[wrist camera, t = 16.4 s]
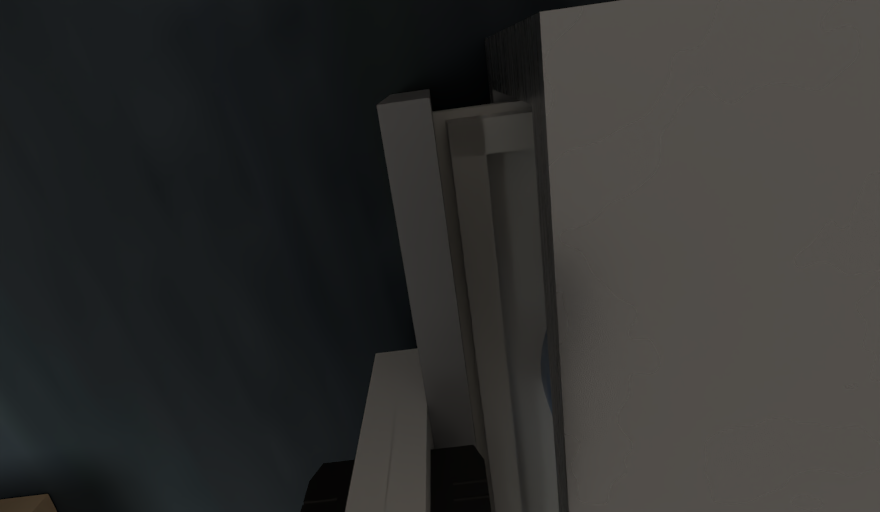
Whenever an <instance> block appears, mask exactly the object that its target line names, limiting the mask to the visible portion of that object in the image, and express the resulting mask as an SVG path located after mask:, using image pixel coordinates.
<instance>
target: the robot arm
mask: <svg viewBox="0 0 880 512" xmlns="http://www.w3.org/2000/svg"><path fill="white" fill-rule="evenodd" d="M301 512H491V504H490V497H489V490H488V482H487V475H486V467H485V460H484V458H483V457H482V456H481V454H480V453H479V452H478V450H477V449H476V448H475V446H474V445H466V446H457V447H448V448H440V449H434V443H433V437H432V431H431V425H430V419H429V413H428V407H427V401H426V396H425V390H424V384H423V378H422V372H421V366H420V360H419V354H418V348H417V349H408V350H400V351H392V352H384V353H376V354H375V359H374V365H373V370H372V375H371V380H370V385H369V390H368V396H367V401H366V406H365V411H364V416H363V421H362V427H361V432H360V437H359V442H358V447H357V452H356V457H355V460H349V461H341V462H332V463H323V465H322V466H321V467H320V468H319V470H318V471H317V472H316V474H315V475H314V476H313V478H312V479H311V480H310V481H309V485H308V488H307V492H306V495H305V499H304V505H302V509H301Z"/></svg>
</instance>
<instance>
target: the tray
mask: <svg viewBox="0 0 880 512" xmlns="http://www.w3.org/2000/svg"><path fill="white" fill-rule="evenodd" d="M377 111H378V117H379V123H380V129H381V135H382V141H383V147H384V153H385V159H386V165H387V171H388V177H389V182H390V188H391V194H392V200H393V206H394V212H395V218H396V224H397V230H398V236H399V242H400V248H401V253H402V259H403V265H404V271H405V277H406V283H407V289H408V295H409V301H410V307H411V313H412V319H413V324H414V330H415V336H416V342H417V348H418V354H419V360H420V366H421V372H422V378H423V384H424V390H425V396H426V401H427V407H428V413H429V419H430V425H431V431H432V437H433V443H434V449H440V448H448V447H457V446H466V445H474V446H475V448H476V449H477V450H478V452H479V453H480V454H481V456H482V457H483V458H484V460H485V467H486V475H487V482H488V490H489V497H490V504H491V512H559V504H558V489H557V474H556V459H555V445H554V430H553V416H552V413H551V410H550V408H549V405H548V402H547V399H546V396H545V392H544V388H543V383H542V378H541V353H542V345H543V341H544V337H545V333H546V330H547V326H546V311H545V296H544V282H543V267H542V252H541V237H540V222H539V208H538V193H537V178H536V163H535V148H534V133H533V119H532V105H531V104H529V103H526V102H524V101H521V100H513V101H505V102H498V103H491V104H484V105H477V106H469V107H462V108H455V109H448V110H441V111H432V104H431V96H430V89H425V90H418V91H411V92H404V93H397V94H391V95H389V96H388V97H387V98H385V99H384V100H383V101H381V102H380V103H378V104H377Z"/></svg>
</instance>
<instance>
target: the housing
mask: <svg viewBox="0 0 880 512" xmlns="http://www.w3.org/2000/svg"><path fill="white" fill-rule="evenodd" d="M484 41H485V52H486V62H487V73H488V83H489V94H490V104H491V103H498V102H505V101H513V100H521V101H524V102H526V103H529V104H531V105H532V119H533V133H534V148H535V163H536V178H537V193H538V208H539V222H540V237H541V252H542V267H543V282H544V296H545V311H546V326H547V341H548V356H549V371H550V385H551V400H552V415H553V430H554V445H555V459H556V474H557V489H558V504H559V512H880V0H619V1H612V2H605V3H598V4H591V5H584V6H577V7H570V8H563V9H556V10H549V11H542V12H538V13H536V14H534V15H532V16H530V17H528V18H526V19H524V20H522V21H520V22H518V23H516V24H514V25H512V26H510V27H508V28H506V29H504V30H502V31H499V32H497V33H495V34H493V35H491V36H489V37H487V38H485V39H484Z"/></svg>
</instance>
